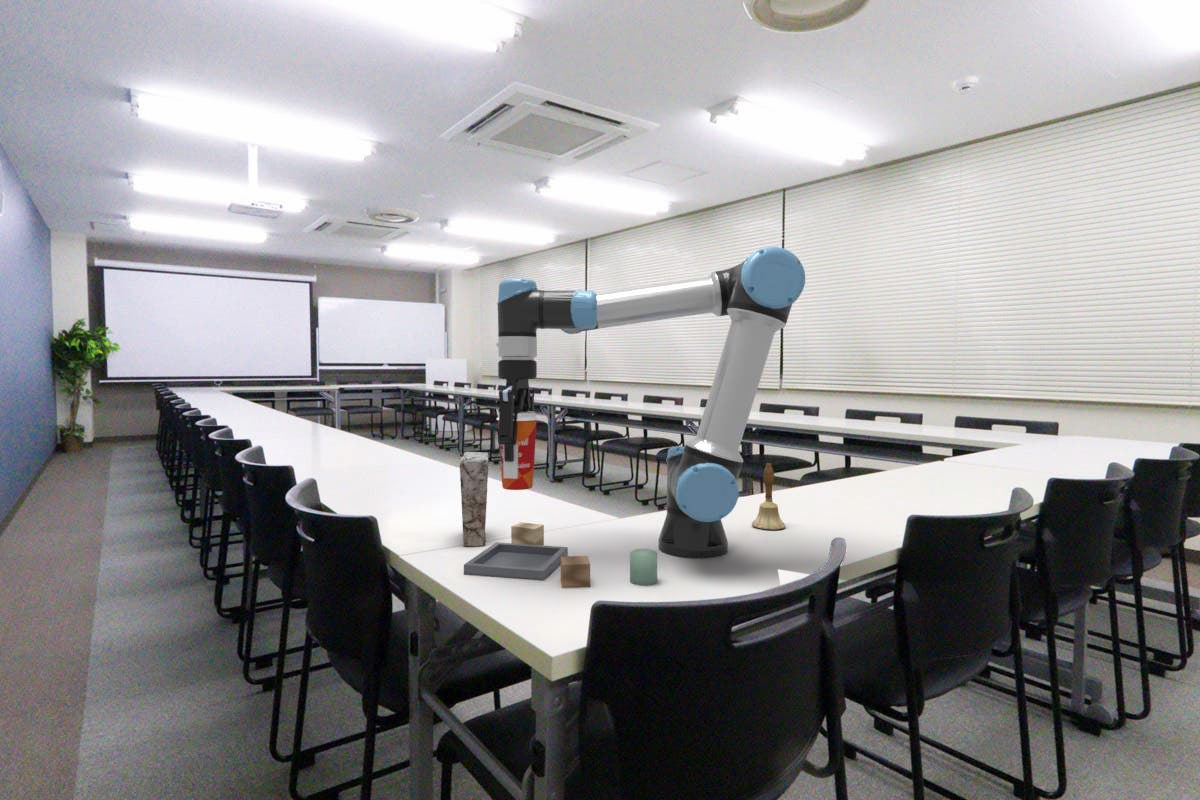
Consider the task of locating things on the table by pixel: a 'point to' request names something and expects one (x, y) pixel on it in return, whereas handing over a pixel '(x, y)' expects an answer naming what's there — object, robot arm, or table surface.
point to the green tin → (643, 567)
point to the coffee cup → (522, 452)
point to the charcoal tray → (516, 561)
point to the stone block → (474, 497)
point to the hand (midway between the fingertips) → (517, 474)
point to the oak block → (527, 534)
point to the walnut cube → (575, 571)
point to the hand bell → (768, 505)
